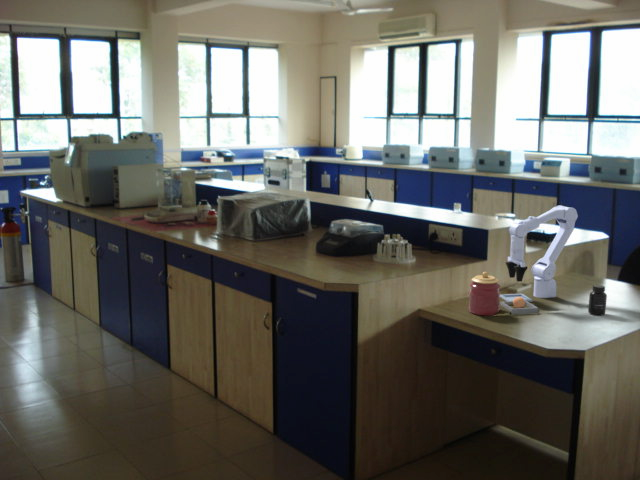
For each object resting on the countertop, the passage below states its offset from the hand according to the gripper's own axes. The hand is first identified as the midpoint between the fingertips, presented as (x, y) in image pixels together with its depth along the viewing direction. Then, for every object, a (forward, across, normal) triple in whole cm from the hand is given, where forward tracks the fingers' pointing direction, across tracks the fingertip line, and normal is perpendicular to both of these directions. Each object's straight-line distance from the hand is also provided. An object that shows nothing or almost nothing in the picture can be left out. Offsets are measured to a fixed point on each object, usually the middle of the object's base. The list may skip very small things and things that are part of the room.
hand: (515, 279), depth 307 cm
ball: (+9, +15, -5) cm, 18 cm away
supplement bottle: (+10, +26, +25) cm, 37 cm away
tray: (+10, +15, -5) cm, 19 cm away
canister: (+10, +15, -21) cm, 28 cm away
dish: (+10, +1, 0) cm, 10 cm away
